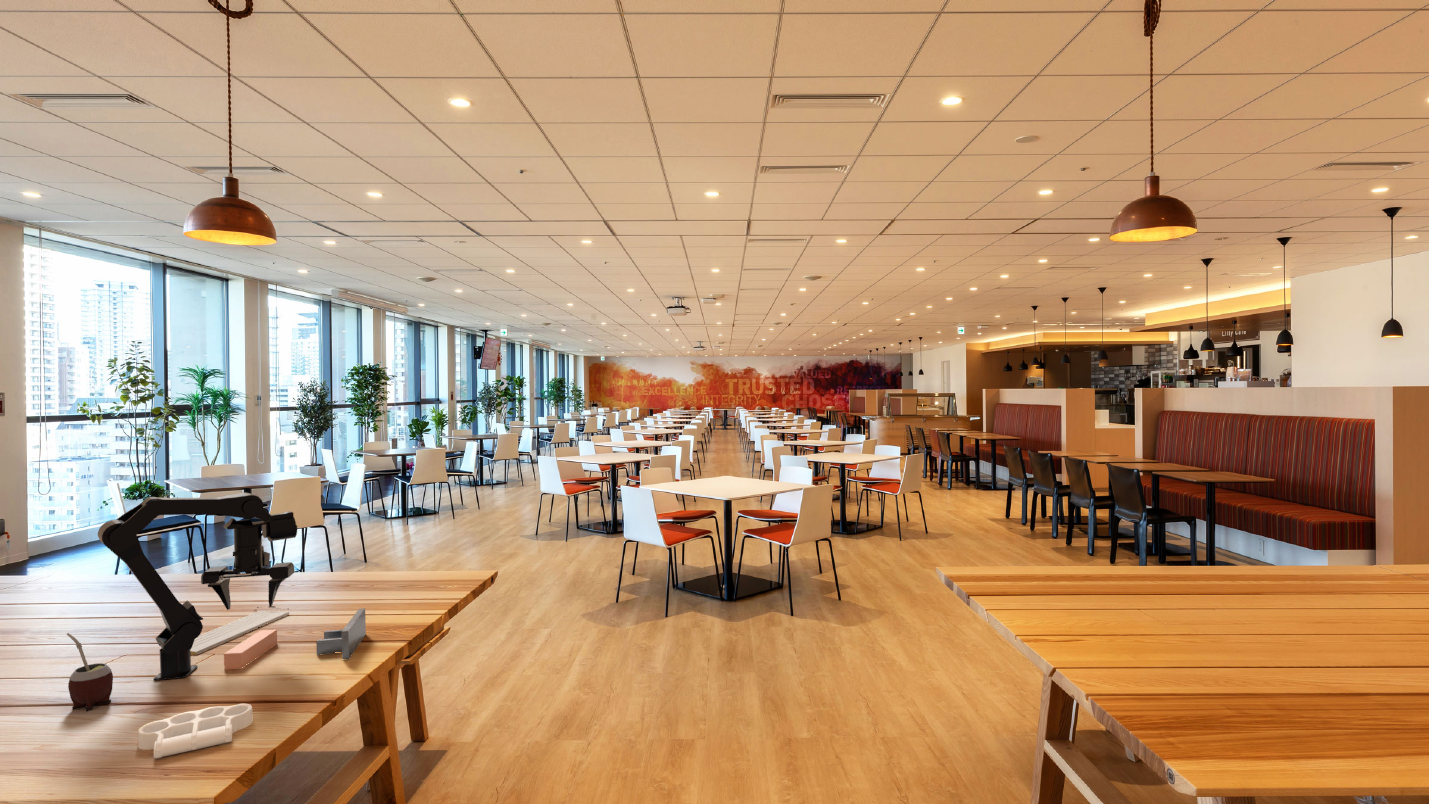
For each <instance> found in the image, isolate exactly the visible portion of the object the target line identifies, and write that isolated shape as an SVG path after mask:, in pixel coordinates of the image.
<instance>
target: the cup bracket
mask: <svg viewBox="0 0 1429 804" xmlns="http://www.w3.org/2000/svg"><path fill="white" fill-rule="evenodd" d="M366 630H367V628H366V608H363V607H362V608H358V609H357V611H356V612H355V614H354V615H353V616H352V617H351V618H350V620H349V621H348V623H346V625H345V626H344V627H343V629H342V628H341V629H331V630H330V629H329V630H324V631H323V639H320V638H319V639H317V640H316V643H315V645H316V646H315V647H316V656H321V655H320V654H324V655H332V654H331V653H335V652H342V653H341V659H349V658H350V659H351V657H352V656H353V655H354V653H355V652H356V650H357V648H358V647H359V645H360V644H361V643H362V641H363V639H364V638H365V636H366V633H367V631H366ZM353 652H354V653H353ZM335 654H336V653H335ZM351 655H352V656H351ZM350 659H349V660H350Z"/></svg>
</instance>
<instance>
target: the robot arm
mask: <svg viewBox="0 0 1429 804" xmlns="http://www.w3.org/2000/svg"><path fill="white" fill-rule="evenodd" d="M179 515H180V516H182V515H184V516H185V515H189V516H190V515H191V516H192V515H220V516H228V517H230V519H229V520H228V522H226V523H225V524H223V528H224V529H226V530H233V548H234V549H233V551H232V557H234V568H233V569H229V567H228V566H227V565H225V566H212V567H210V568H208V569H207V570H205V571H204V572H202V573H201V576H200V580H201V581H200V584H201V585H207V588H212V589H213V591H214V592H215V593H216V594H217V596H218V597H219V599H220V600H221V602H222V604H223V606H224V607H225V609H226V610H227V611H228V610H230V609H231V594H230V593H231V592H230V581H231V579H232V578H235V579H236V578H247V577H248V578H249V577H262V576H269V577H270V578H271V579H269V580H268V607H269V606H270V607H271V606H274V605H273V603H274V601H275V599H276V595H277V593H278V590H279V587H280V585H281V584H282V583H283V582H284V581H285V580H287V579H288V578H290V577H291V576H293V574H294V573H295V564H294V563H293V562H290V561H289V562H276V563H275V564H273V565H272V566H270V557H271V553H270V552H267V551H265V549H264V545H263V538H264V539H266V538H267V541H269V542H273V541H281V540H288V539H294V538H296V537H297V534H298V525H297V522H296V519H295V517H294V512H293V511H290V510H289V511H284V512H280V513H270V512H268V510H266V509H265V507H264V501H263V500H262V498H261V497H259V496H258V495H255V494H254V493H249V492H239V493H233V494H227V495H223V496H217V497H156V496H149V497H147V498H145V499H144V500H143V501H142V502H141V503H139V504H137V505H136V506H134V507H133V508H131V509H129V510H127V511H126V512H125V513H122V515H121V516H119V517H117V518H116V519H111V520H109V521H108V520H107V521H106V522H105V523H103V524H101V525H100V527H99V529H98V531H97V537H98V540H99V541H100V542H101V543H102V544H103V545H104V546H105V547H106V548H107V549H108V550H110V551H111V552H112V553H113V554H114V555H115V556H116V557H117V558H118V559H120V560H121V561H122V562H123V563H124V564H125V565H126V566H127V568H128V569H129V570H130V572H131V573H132V574H133V576H134V577H135V578H136V580H137V581H138V582H139V584H140V585H141V586H142V588H143V589H144V590H145V592H146V593H147V595H148V596H149V597H150V599H151V600H152V601H153V603H154V604H155V605H156V607H157V608H158V610H159V611H160V612H159V613H160V615H161V617H162V620H163V623H164V625H165V628H164V629H163V630H162V631H161V632H160V633H159V634H158V635H157V636H156V637H155V641H156V642H157V644H158V646H159V647H161V648H160V649H159V667H160V668H159V669H160V672H159V673H158V674H157V675H155V676H154V677H153V681H159V680H171V679H173V680H174V679H181V678H182V679H183V678H186V677H187V676H189V675H190V674H191V673H192V672H193V671H194V670H196V669H197V668H198V664H191V662H192V659H191V658H192V657H191V656H192V655H191V653H190V649H191V648H192V646H193V643H194V640H195V639H196V638H197V637H198V636H199V635H201V634H202V633H203V632H202V630H203V629H204V625H203V622H202V621H204V618H203V617H202V616H201V615H200V614H199V613H198V612H197V610H196V607H195V605H193V603H191V602H190V601H189V600H186V601H184V602H183V603H181V602H180V601H179V600H178V599H177V598H176V596H175V594H174V593H173V592H172V590H171V589H170V588H169V586H168V584H166V583H165V581H164V580H163V578H162V577H161V576H160V574H159V573H158V571H157V569H155V567H154V566H153V565H152V563H151V562H150V560H149V559H148V558H147V556H146V555H145V554H144V550H143V547H142V545H141V542H140V540H139V537H138V534H139V533H141V532H142V531H143V530H144V529H145V528H146V527H147V526H149V525H150V524H151V523H152V522H153V521H154V520H155V519H156V518H158V517H160V516H179ZM235 518H240V519H241V520H237V519H235ZM254 518H255V519H257V520H260V521H253V520H251V519H254ZM262 537H263V538H262ZM269 566H270V567H269Z"/></svg>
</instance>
